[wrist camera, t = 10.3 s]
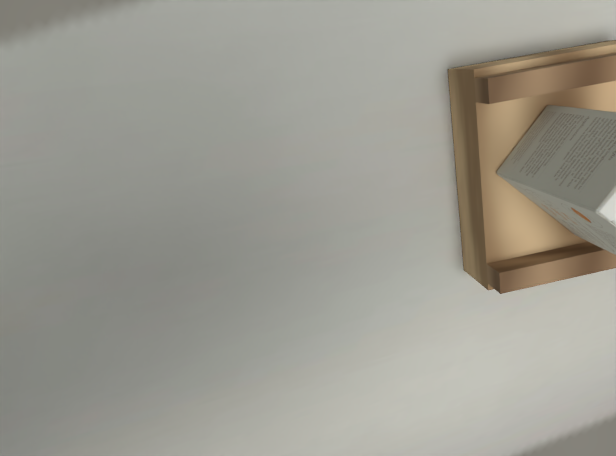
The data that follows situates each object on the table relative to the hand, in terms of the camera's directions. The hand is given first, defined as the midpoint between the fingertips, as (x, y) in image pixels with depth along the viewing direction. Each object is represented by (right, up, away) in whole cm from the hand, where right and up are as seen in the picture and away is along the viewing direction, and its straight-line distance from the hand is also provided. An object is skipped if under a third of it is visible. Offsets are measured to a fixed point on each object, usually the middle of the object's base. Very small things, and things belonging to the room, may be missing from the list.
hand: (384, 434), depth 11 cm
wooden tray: (+15, +9, +30) cm, 35 cm away
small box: (+15, +8, +26) cm, 31 cm away
